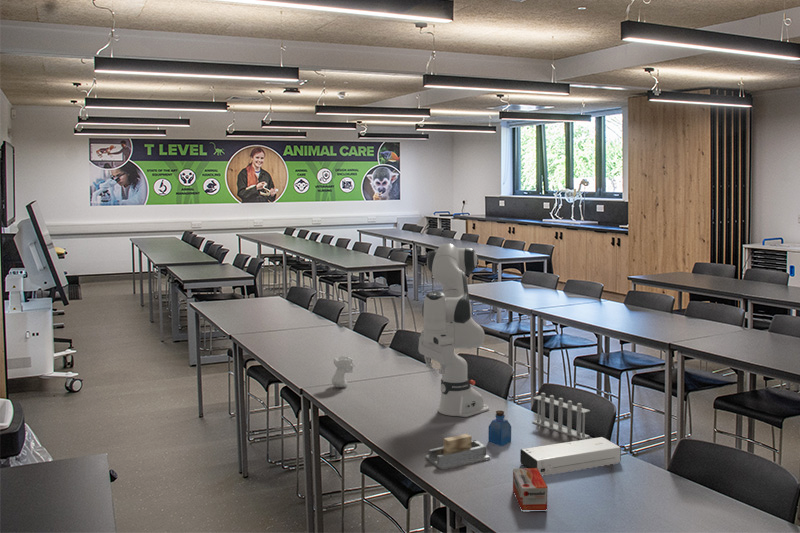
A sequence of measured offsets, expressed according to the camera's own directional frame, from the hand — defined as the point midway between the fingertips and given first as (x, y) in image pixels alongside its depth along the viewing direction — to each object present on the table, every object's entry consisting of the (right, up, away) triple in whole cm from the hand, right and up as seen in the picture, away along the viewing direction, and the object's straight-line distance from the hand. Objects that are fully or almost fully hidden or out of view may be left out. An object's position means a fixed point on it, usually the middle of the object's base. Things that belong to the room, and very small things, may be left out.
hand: (435, 370), depth 261 cm
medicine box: (+27, -34, -46) cm, 64 cm away
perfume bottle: (+25, -28, +3) cm, 38 cm away
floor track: (+7, -30, -13) cm, 33 cm away
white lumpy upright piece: (-41, -20, +75) cm, 88 cm away
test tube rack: (+51, -27, +15) cm, 60 cm away
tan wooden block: (+7, -29, -13) cm, 33 cm away
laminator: (+47, -31, -18) cm, 59 cm away
